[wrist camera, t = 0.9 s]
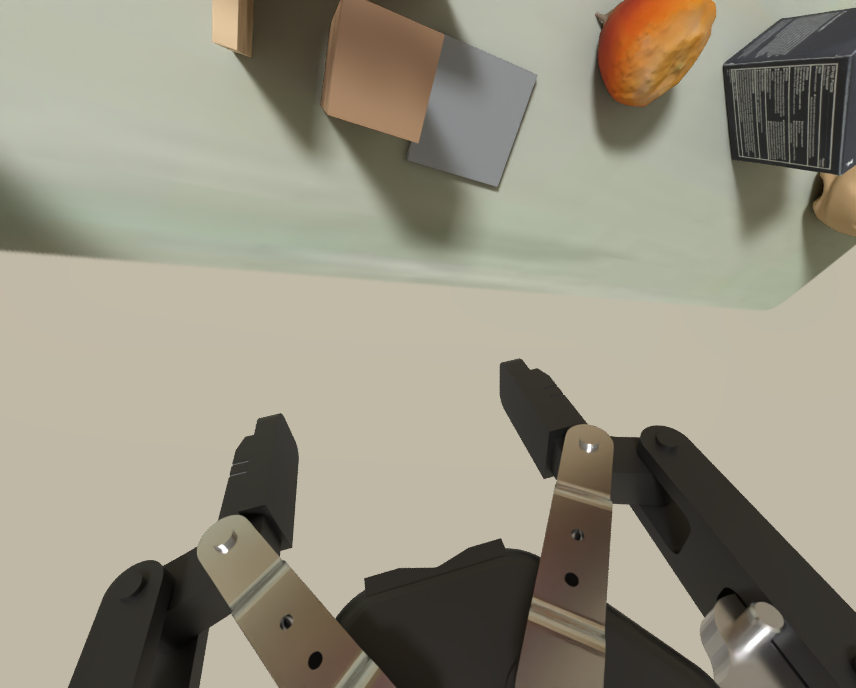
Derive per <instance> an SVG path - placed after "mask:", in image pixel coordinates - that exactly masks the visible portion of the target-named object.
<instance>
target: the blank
mask: <svg viewBox="0 0 856 688" xmlns="http://www.w3.org/2000/svg"><path fill="white" fill-rule="evenodd" d="M444 36H445V34H442V33H440V32H438V31H435V30H433V29H431V28H429V27H426V26H424V25H422V24H419V23H417V22H415V21H413V20H410V19H408V18H406V17H404V16H401V15H399V14H397V13H394V12H392V11H390V10H388V9H385V8H383V7H381V6H379V5H376V4H374V3H372V2H369V1H367V0H340V2H339V5H338V7H337V10H336V12H335V14H334V17H333V19H332V22H331V24H330V32H329V40H328V48H327V56H326V64H325V72H324V80H323V88H322V97H321V106H322V108H323V109H324V111H325V112H326V113H327V115H329V116H333V117H336V118H339V119H342V120H345V121H349V122H352V123H355V124H358V125H361V126H365V127H368V128H371V129H374V130H377V131H381V132H384V133H387V134H390V135H393V136H396V137H400V138H403V139H406V140H409V141H412V142H416V143H419V139H420V135H421V131H422V126H423V122H424V118H425V114H426V110H427V106H428V102H429V98H430V94H431V90H432V86H433V81H434V77H435V73H436V69H437V65H438V61H439V57H440V53H441V49H442V45H443V40H444Z"/></svg>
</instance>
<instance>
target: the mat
mask: <svg viewBox="0 0 856 688" xmlns="http://www.w3.org/2000/svg"><path fill="white" fill-rule="evenodd" d="M438 32H439V31H438ZM440 33H442V32H440ZM442 34H444V33H442ZM536 78H537V74H535V73H532V72H530V71H528V70H526V69H523V68H521V67H519V66H516V65H514V64H512V63H510V62H507V61H505V60H503V59H501V58H498V57H496V56H494V55H491V54H489V53H487V52H485V51H482V50H480V49H478V48H476V47H473V46H471V45H469V44H467V43H464V42H462V41H460V40H457V39H455V38H453V37H451V36H448V35H446V34H445V36H444V40H443V45H442V49H441V53H440V57H439V61H438V65H437V69H436V73H435V77H434V81H433V86H432V90H431V94H430V98H429V102H428V106H427V110H426V114H425V118H424V122H423V126H422V131H421V135H420V139H419V143H416V142H412V141H410V145H409V149H408V153H407V157H406V160H407V161H410V162H414V163H417V164H421V165H424V166H427V167H431V168H434V169H438V170H441V171H444V172H448V173H451V174H455V175H458V176H462V177H465V178H468V179H472V180H475V181H479V182H482V183H486V184H489V185H492V186H496V187H498V185H499V182H500V179H501V176H502V173H503V170H504V168H505V165H506V162H507V159H508V156H509V154H510V151H511V148H512V145H513V142H514V140H515V137H516V134H517V131H518V128H519V126H520V123H521V120H522V117H523V114H524V112H525V109H526V106H527V103H528V100H529V97H530V95H531V92H532V89H533V86H534V83H535V81H536Z"/></svg>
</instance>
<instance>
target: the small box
mask: <svg viewBox="0 0 856 688" xmlns="http://www.w3.org/2000/svg"><path fill="white" fill-rule="evenodd" d="M723 71H724V82H725V92H726V101H727V110H728V120H729V130H730V140H731V150H732V159H733V160H737V161H748V162H756V163H762V164H769V165H776V166H783V167H788V168H795V169H801V170H809V171H815V172H822V173H829V174H833V175H838V176H841V175H843V174H844V173H846V172H847V171H848V170H850V169H851V168H852V167H854V166H855V165H856V8H851V9H844V10H838V11H830V12H824V13H818V14H810V15H804V16H798V17H791V18H782V19H780V20H779V21H777V22H776V23H775V24H773V25H772V26H771V27H770V28H768V29H767V30H766V31H764V32H763V33H762V34H761V35H759V36H758V37H757V38H755V39H754V40H753V41H752V42H750V43H749V44H748V45H747V46H745V47H744V48H743V49H741V50H740V51H739V52H738V53H736V54H735V55H734V56H733V57H731V58H730V59H729V60H727V61H726V62H725V63H724V65H723Z"/></svg>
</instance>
